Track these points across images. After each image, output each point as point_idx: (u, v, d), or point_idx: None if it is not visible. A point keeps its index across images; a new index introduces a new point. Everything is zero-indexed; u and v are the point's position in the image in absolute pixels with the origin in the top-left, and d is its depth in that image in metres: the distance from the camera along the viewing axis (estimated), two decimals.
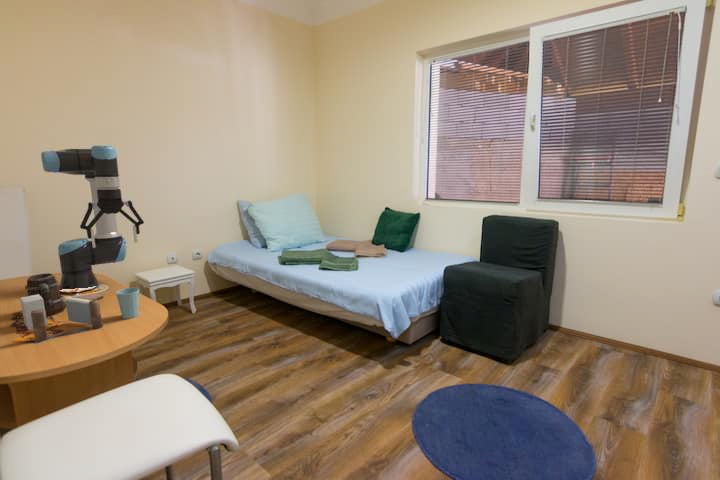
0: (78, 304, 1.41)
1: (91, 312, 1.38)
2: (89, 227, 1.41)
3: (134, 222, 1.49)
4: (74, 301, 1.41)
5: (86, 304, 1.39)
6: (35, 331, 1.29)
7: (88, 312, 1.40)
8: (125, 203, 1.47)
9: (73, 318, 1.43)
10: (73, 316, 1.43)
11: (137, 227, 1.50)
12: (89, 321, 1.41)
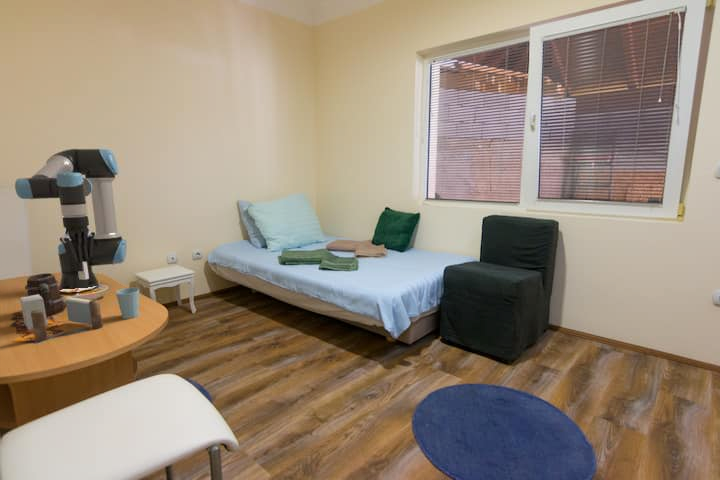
0: (78, 304, 1.41)
1: (91, 312, 1.38)
2: None
3: None
4: (74, 301, 1.41)
5: (86, 304, 1.39)
6: (35, 331, 1.29)
7: (88, 312, 1.40)
8: None
9: (73, 318, 1.43)
10: (73, 316, 1.43)
11: None
12: (89, 321, 1.41)
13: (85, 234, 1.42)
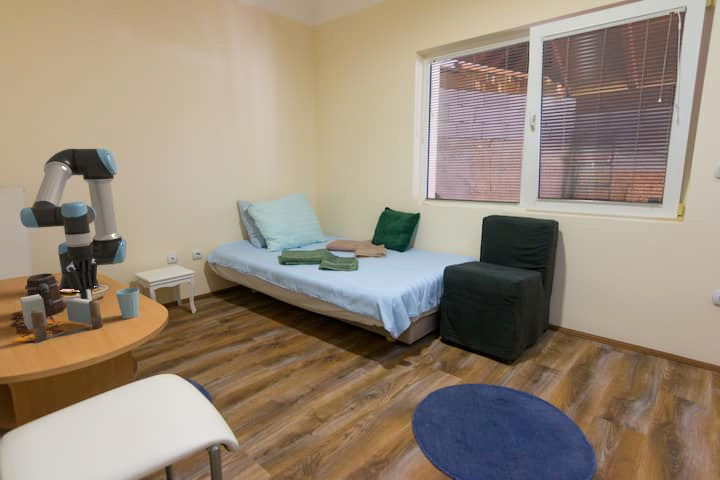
0: (78, 304, 1.41)
1: (91, 312, 1.38)
2: None
3: None
4: (74, 301, 1.41)
5: (86, 304, 1.39)
6: (35, 331, 1.29)
7: (88, 312, 1.40)
8: None
9: (73, 318, 1.43)
10: (73, 316, 1.43)
11: None
12: (89, 321, 1.41)
13: (89, 262, 1.44)
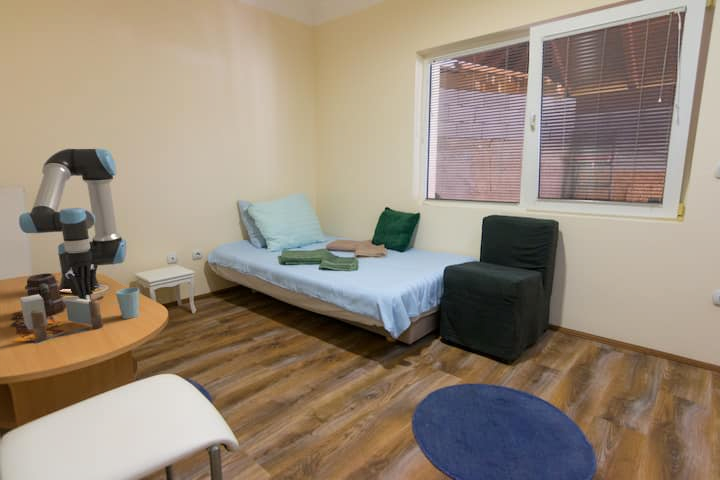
0: (78, 304, 1.41)
1: (91, 312, 1.38)
2: None
3: None
4: (74, 301, 1.41)
5: (86, 304, 1.39)
6: (35, 331, 1.29)
7: (88, 312, 1.40)
8: None
9: (73, 318, 1.43)
10: (73, 317, 1.43)
11: None
12: (89, 321, 1.41)
13: (88, 268, 1.44)
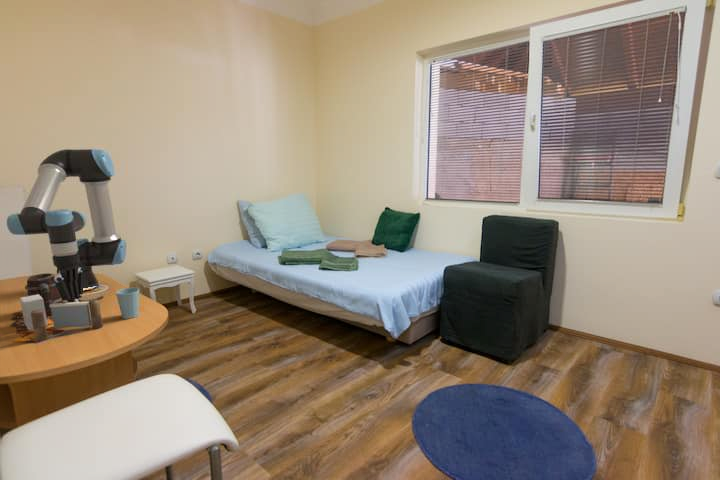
0: (71, 308, 1.37)
1: (91, 312, 1.38)
2: None
3: None
4: (65, 305, 1.37)
5: (84, 306, 1.38)
6: (35, 331, 1.29)
7: (86, 313, 1.39)
8: None
9: (61, 324, 1.38)
10: (62, 322, 1.38)
11: None
12: (87, 323, 1.39)
13: (76, 271, 1.40)
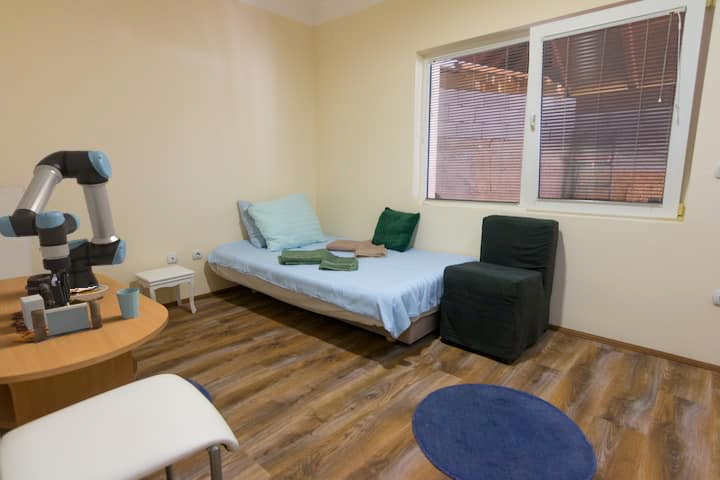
0: (69, 311, 1.34)
1: (91, 312, 1.38)
2: None
3: None
4: (63, 309, 1.33)
5: (84, 307, 1.37)
6: (35, 331, 1.29)
7: (86, 315, 1.37)
8: None
9: (58, 330, 1.33)
10: (59, 328, 1.33)
11: None
12: (87, 324, 1.38)
13: (67, 274, 1.37)
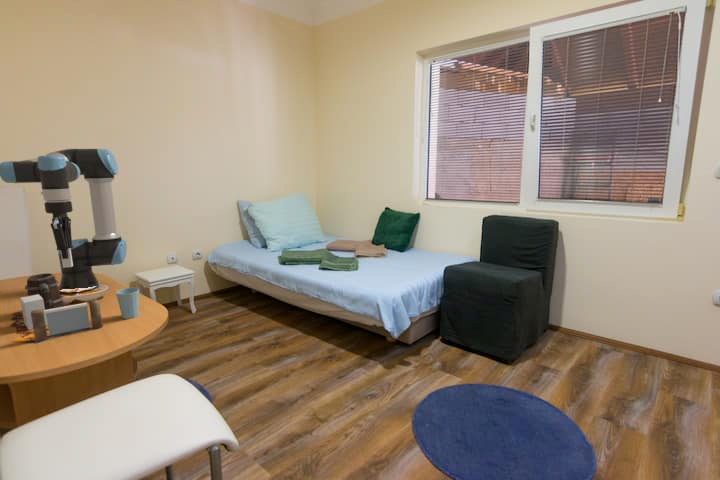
0: (69, 311, 1.34)
1: (91, 312, 1.38)
2: None
3: None
4: (63, 309, 1.33)
5: (84, 307, 1.37)
6: (35, 331, 1.29)
7: (86, 315, 1.37)
8: None
9: (58, 330, 1.33)
10: (59, 328, 1.33)
11: None
12: (87, 324, 1.38)
13: (68, 220, 1.38)
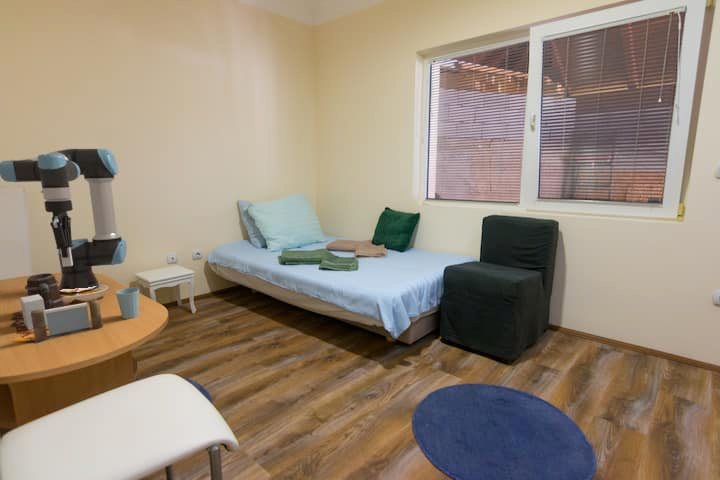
0: (69, 311, 1.34)
1: (91, 312, 1.38)
2: None
3: None
4: (63, 309, 1.33)
5: (84, 307, 1.37)
6: (35, 331, 1.29)
7: (86, 315, 1.37)
8: None
9: (58, 330, 1.33)
10: (59, 328, 1.33)
11: None
12: (87, 324, 1.38)
13: (68, 219, 1.38)
